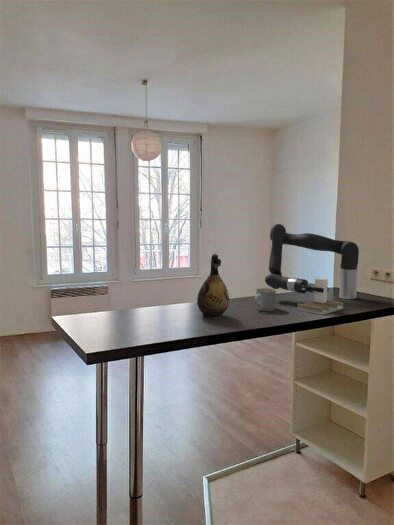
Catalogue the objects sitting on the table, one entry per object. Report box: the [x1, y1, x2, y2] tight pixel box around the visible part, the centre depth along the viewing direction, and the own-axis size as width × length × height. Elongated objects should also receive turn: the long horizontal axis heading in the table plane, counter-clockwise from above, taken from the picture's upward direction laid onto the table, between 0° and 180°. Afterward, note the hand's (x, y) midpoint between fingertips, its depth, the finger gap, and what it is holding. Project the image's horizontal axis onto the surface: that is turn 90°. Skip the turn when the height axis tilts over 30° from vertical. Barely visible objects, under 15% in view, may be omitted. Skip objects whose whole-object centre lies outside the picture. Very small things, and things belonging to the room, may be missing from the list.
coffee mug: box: [253, 287, 277, 312], centre depth 208 cm, size 13×10×10 cm
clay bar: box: [313, 277, 329, 303], centre depth 207 cm, size 4×5×12 cm
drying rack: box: [297, 299, 344, 316], centre depth 208 cm, size 20×14×3 cm
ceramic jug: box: [196, 253, 230, 320], centre depth 192 cm, size 17×15×30 cm
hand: (325, 289), depth 205 cm, fingers closed on clay bar, 4 cm apart
